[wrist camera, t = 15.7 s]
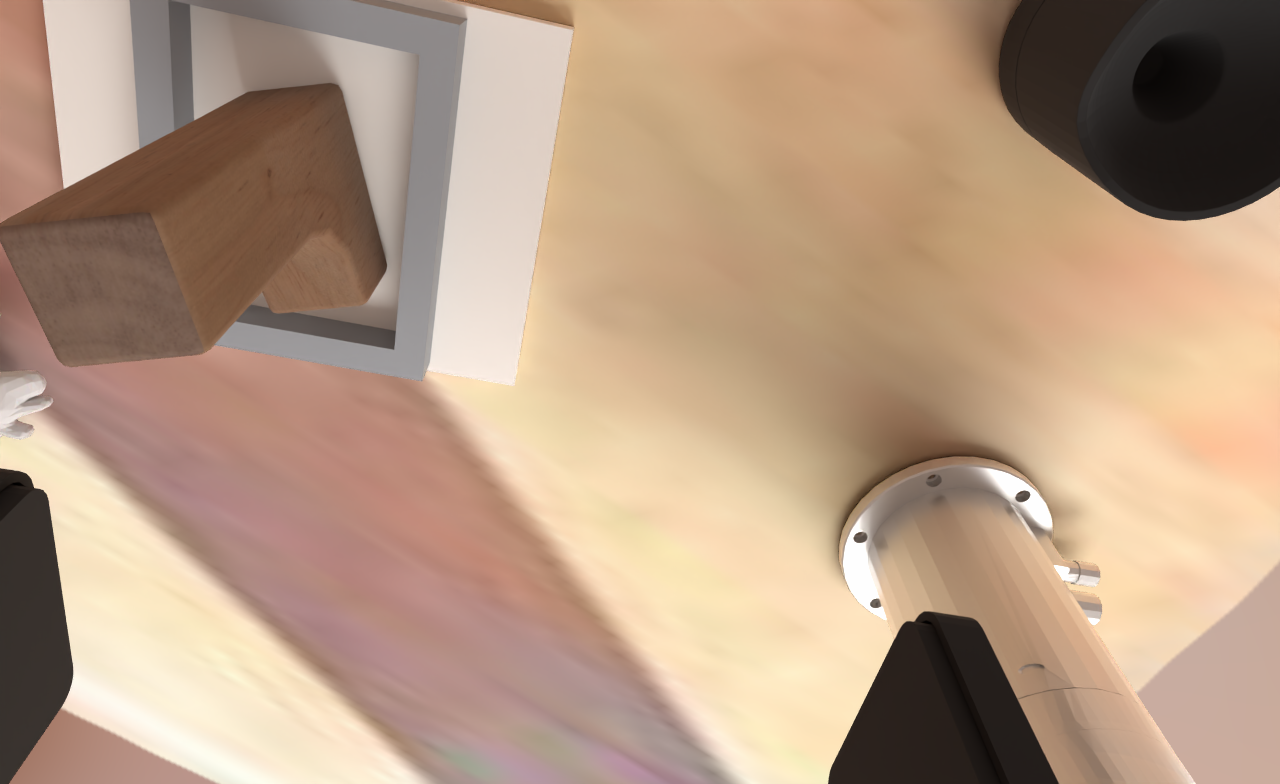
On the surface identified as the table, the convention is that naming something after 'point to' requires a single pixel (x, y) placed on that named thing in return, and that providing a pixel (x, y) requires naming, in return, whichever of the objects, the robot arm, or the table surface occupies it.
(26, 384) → the toy figure
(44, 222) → the wooden block
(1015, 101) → the pen holder
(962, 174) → the table surface
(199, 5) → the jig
